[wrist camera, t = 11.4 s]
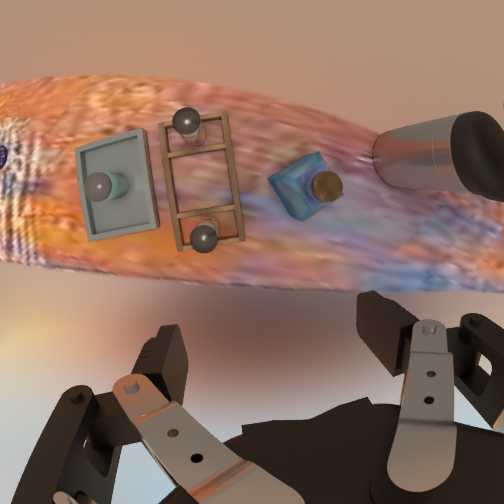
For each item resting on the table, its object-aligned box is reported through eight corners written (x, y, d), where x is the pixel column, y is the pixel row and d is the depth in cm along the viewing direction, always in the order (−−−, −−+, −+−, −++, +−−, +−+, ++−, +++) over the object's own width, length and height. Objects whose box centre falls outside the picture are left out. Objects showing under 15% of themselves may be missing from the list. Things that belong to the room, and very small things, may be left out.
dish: (146, 130, 35) (142, 128, 32) (160, 225, 38) (156, 228, 36) (81, 149, 34) (74, 148, 32) (95, 238, 37) (88, 241, 35)
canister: (217, 214, 38) (215, 223, 29) (220, 235, 39) (219, 250, 30) (196, 217, 38) (187, 228, 29) (200, 238, 39) (192, 255, 29)
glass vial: (204, 124, 35) (198, 105, 26) (207, 144, 36) (201, 130, 27) (183, 128, 35) (171, 110, 26) (186, 148, 36) (173, 136, 26)
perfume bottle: (267, 178, 38) (286, 175, 26) (304, 156, 38) (337, 145, 26) (290, 216, 39) (318, 229, 28) (326, 193, 39) (365, 197, 27)
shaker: (126, 170, 35) (107, 168, 28) (130, 195, 36) (112, 198, 29) (103, 176, 35) (81, 176, 28) (108, 201, 36) (86, 205, 29)
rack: (226, 114, 35) (226, 111, 34) (244, 238, 39) (245, 240, 38) (160, 125, 35) (158, 123, 33) (179, 249, 39) (177, 251, 37)
